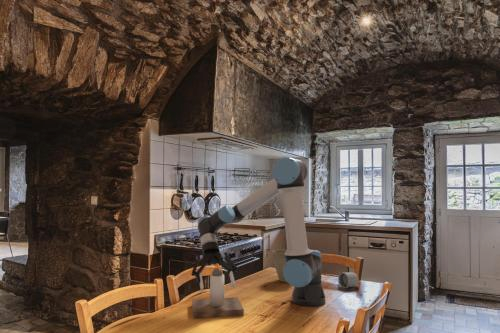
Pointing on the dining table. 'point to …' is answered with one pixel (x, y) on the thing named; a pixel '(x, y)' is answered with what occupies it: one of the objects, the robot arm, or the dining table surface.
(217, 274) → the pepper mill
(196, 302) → the walnut board
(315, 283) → the robot arm
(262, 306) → the dining table surface
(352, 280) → the ceramic mug
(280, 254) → the plant pot
